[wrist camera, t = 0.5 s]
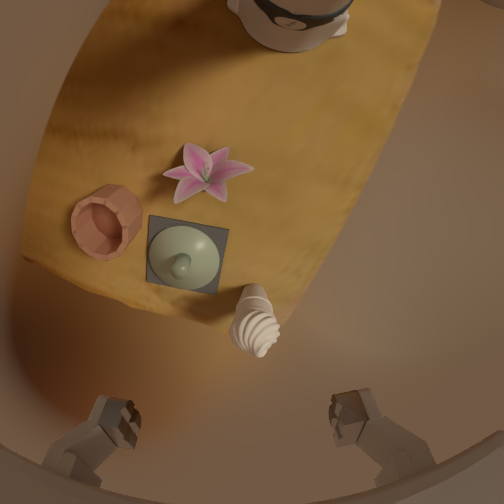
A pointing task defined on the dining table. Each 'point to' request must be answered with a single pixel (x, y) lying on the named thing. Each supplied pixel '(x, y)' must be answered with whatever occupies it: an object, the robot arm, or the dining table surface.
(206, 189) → the lily
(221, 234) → the mat
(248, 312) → the soft serve ice cream cone
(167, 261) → the lid
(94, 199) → the bowl
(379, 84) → the dining table surface
